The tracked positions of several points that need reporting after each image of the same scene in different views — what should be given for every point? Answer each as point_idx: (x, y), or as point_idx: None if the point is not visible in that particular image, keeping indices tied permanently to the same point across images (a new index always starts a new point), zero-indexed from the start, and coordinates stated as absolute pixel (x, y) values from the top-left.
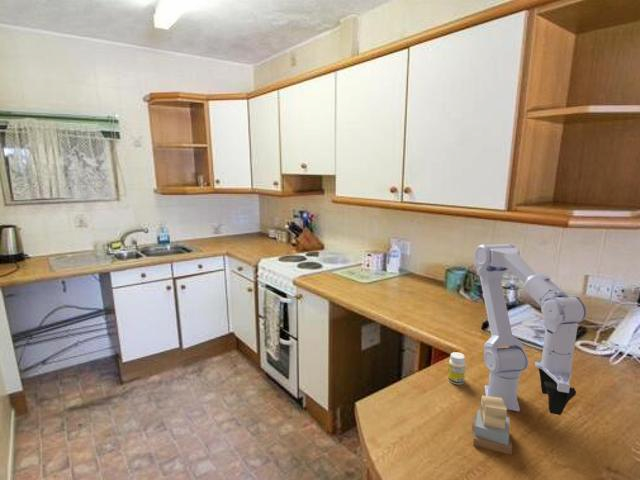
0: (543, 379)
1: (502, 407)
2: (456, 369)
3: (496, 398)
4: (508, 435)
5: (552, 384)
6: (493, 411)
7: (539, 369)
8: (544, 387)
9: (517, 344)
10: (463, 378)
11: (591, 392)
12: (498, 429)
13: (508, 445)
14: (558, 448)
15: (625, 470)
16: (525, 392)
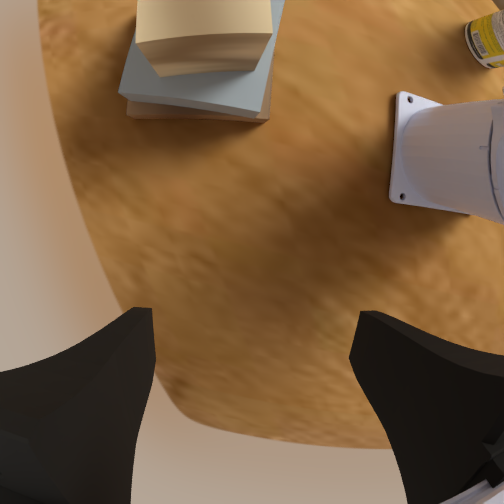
0: (419, 363)
1: (154, 20)
2: (500, 21)
3: (256, 2)
4: (120, 90)
5: (19, 484)
6: None
7: (489, 382)
8: (380, 339)
9: None
10: (488, 56)
11: None
12: None
13: (133, 102)
14: (219, 283)
15: (189, 410)
16: (474, 248)
